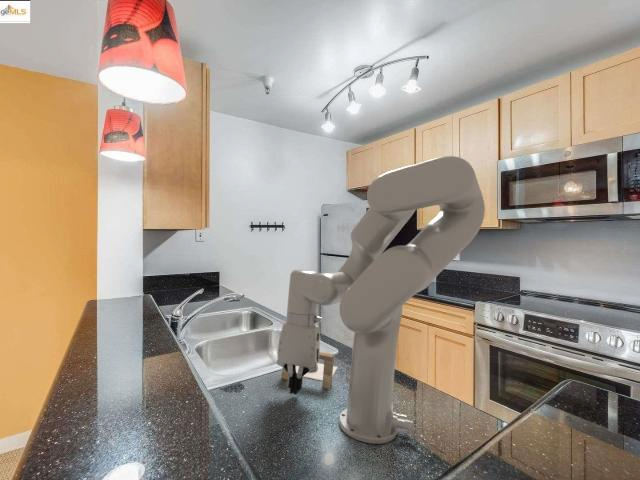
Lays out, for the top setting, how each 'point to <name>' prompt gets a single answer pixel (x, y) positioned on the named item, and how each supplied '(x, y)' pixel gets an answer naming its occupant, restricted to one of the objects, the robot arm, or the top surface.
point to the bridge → (327, 371)
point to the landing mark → (317, 372)
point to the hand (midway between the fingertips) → (294, 391)
